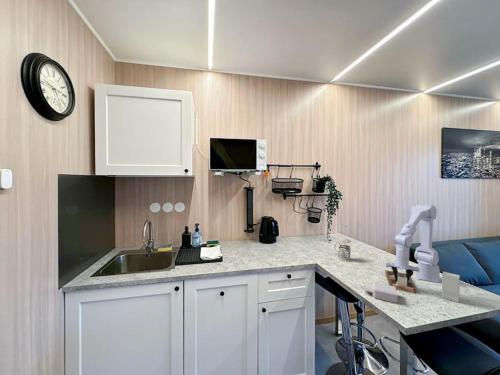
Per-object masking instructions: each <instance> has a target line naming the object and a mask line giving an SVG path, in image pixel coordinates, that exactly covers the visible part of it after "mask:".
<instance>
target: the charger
mask: <svg viewBox="0 0 500 375" xmlns="http://www.w3.org/2000/svg"><path fill="white" fill-rule="evenodd" d="M360 288H361V289H364V291H365V292H367V293H371V294H372V297H373V298H374V299H378V300H381V301H385V300H386V302H390V303H394V304H397V303H398V292H397V289H396V288H395V287H394V286H389V284H383V283H380V282H379V283H378V282H375V281H374V282H371V285H368V284H365V286H364V285H360Z"/></svg>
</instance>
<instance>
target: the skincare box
mask: <svg viewBox="0 0 500 375" xmlns="http://www.w3.org/2000/svg"><path fill="white" fill-rule="evenodd" d="M441 275H442V276H441V297H442V299H445V300H448V301H451V300H452V301H451V302H456V303H458V302H459V303H460V289H461V288H460V285H461V284H460V279H461V278H460V277H461V276H460V274H456V273H452V272H451V273H450V272H447V271H443V272H442V273H441Z"/></svg>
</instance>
